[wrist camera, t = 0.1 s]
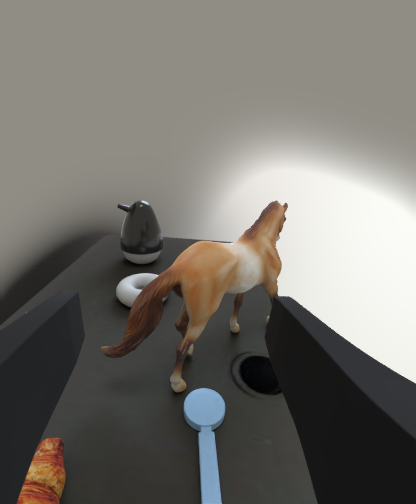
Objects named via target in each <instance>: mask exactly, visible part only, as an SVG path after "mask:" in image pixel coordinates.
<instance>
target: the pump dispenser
mask: <svg viewBox="0 0 416 504" xmlns="http://www.w3.org/2000/svg"><path fill="white" fill-rule="evenodd" d="M118 208H120V209H122V210H124V211H126V212H127V214H126V216H125V219H124V223H123V227H122V232H121V242H120V245H121V249H122V250H123V253H124V255H125V257H126V258H127V259H128V260H129V261H131V262H133V263H136V264H147V263H150V262H153V261H154V260H156V259H157V258H158V256H159V255H160V252H161V249H162V248H163V240H162V233H161V228H160V224H159V221H158V218H157V216H156V213H155V211H154V210H153V207H152V206H151V205H150V204H149V203H148V202H146V201H144V200H138V201H135V202H134V203H133V204H132V205H131V206H130V207H129V206H125V205H123V204H118Z"/></svg>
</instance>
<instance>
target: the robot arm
mask: <svg viewBox="0 0 416 504" xmlns="http://www.w3.org/2000/svg"><path fill="white" fill-rule="evenodd" d="M84 337H85V334H84V327H83V320H82V314H81V307H80V300H79V293H78V292H61V291H60V292H59V293H57V294H55V295H54V296H52V297H50V298H49V299H47V300H46V301H44V302H43V303H41V304H40V305H38V306H37V307H35V308H34V309H32V310H31V311H29V312H28V313H26V314H25V315H23V316H22V317H20V318H19V319H17V320H16V321H14V322H13V323H11V324H10V325H8V326H7V327H5V328H3V329H2V330H0V504H17V501H18V498H19V495H20V493H21V490H22V487H23V484H24V481H25V479H26V476H27V473H28V471H29V468H30V465H31V462H32V460H33V457H34V454H35V452H36V449H37V446H38V444H39V442H40V439H41V437H42V435H43V432H44V430H45V428H46V426H47V424H48V422H49V419H50V417H51V415H52V413H53V411H54V409H55V407H56V405H57V403H58V401H59V398H60V396H61V394H62V392H63V390H64V388H65V386H66V384H67V382H68V379H69V377H70V375H71V373H72V371H73V369H74V367H75V364H76V362H77V359H78V356H79V353H80V350H81V347H82V344H83V341H84ZM265 340H266V345H267V349H268V353H269V357H270V361H271V364H272V366H273V369H274V372H275V374H276V377H277V379H278V382H279V385H280V387H281V390H282V392H283V395H284V397H285V400H286V402H287V405H288V408H289V410H290V413H291V415H292V418H293V420H294V423H295V426H296V429H297V432H298V435H299V438H300V441H301V445H302V448H303V452H304V455H305V459H306V462H307V466H308V469H309V473H310V477H311V480H312V484H313V488H314V491H315V495H316V499H317V503H318V504H416V384H415V383H414V382H412V381H410V380H408V379H407V378H405V377H403V376H401V375H400V374H398V373H396V372H394V371H393V370H391V369H390V368H388V367H386V366H385V365H383V364H382V363H380V362H378V361H377V360H375V359H374V358H372V357H370V356H369V355H367V354H366V353H364V352H363V351H361V350H360V349H359V348H357V347H356V346H354V345H353V344H351V343H350V342H348V341H347V340H346V339H344V338H343V337H342V336H340V335H339V334H337V333H336V332H335V331H334V330H332V329H331V328H329V327H328V326H327V325H326V324H324V323H323V322H322V321H321V320H319V319H318V318H317V317H316V316H314V315H313V314H312V313H310V312H309V311H308V310H307V309H305V308H304V307H303V306H302V305H300V304H299V303H298V302H296V301H295V300H294V299H292V298H290V297H286V296H285V297H284V296H282V297H281V296H274V299H273V303H272V308H271V312H270V316H269V321H268V325H267V329H266V334H265Z"/></svg>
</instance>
